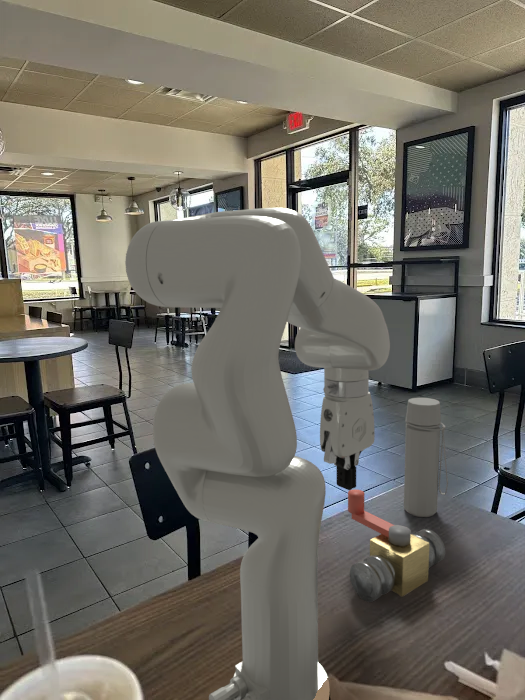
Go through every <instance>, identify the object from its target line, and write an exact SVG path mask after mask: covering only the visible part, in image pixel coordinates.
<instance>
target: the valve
mask: <svg viewBox="0 0 525 700" xmlns="http://www.w3.org/2000/svg"><path fill="white" fill-rule="evenodd" d="M445 549H446V547H445V545H444V542H443V540H442V538H441V537H440V536H439V535H438V534H437V533H436V532H435V531H434V530H432V529H429V528H423V529H421V530H418V531H416V532H415V533H413V534H411V539H410V544H408V545H406V546H398V545H394V544H392V543H391V542H390V541H389V538H388V537H386V536H384V535H382V534H379V535H376V536H375V537H372V538H371V539H369V556H368V557H366V558H364V559H363V560H360V561H358V562H356V563H354V564H352V566H351V567H350V570H349V579H350V584H351V587H352V588H353V589H354V592H355V593H356V595H357V596H358V597H359V598H360V599H362V600H363V601H364V602H367V603H372V602H375V601H377V599H379V598H380V597H382V595H383V596H384V595H386V594H388V593H389V592H391V591H392V592H394V593H395V594H397V595H398V596H400V597H401V598H403V597H404V596H406V595H407V594H409V593H411V592H412V591H414V590H416V589H417V588H418V587H421V586H422V585H424V584H425V583H427V582H428V581H429V570H430V569H429V568H431V567H432V566H434V565H436V564H438V563H440V562H441V561H442V560H443V559H444V558H445V556H446V555H445V554H446V550H445Z"/></svg>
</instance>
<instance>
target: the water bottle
mask: <svg viewBox="0 0 525 700" xmlns="http://www.w3.org/2000/svg"><path fill="white" fill-rule="evenodd" d="M441 414H442V413H441V403H440V401H439V400H437V399H434V398H430V397H412V398H409V399H408V400H407V405H406V415H405V418H404V419H405V420H404V421H405V441H404V443H405V446H404V448H405V449H404V479H403V480H404V482H403V484H404V485H403V486H404V487H403V495H404V496H403V508H404V509H403V510H405V511H406V512H407V513H408V514H410V515H411V516H414V517H419V518H428V517H433V516H434V515H435V514H436V513H437V512H438V501H439V500H438V499H439V498H438V497H439V494H440V495H443V496H446V494H447V493H448V492H447V491H448V485H449V479H448V477H449V476H448V468H447V467H448V466H447V465H448V464H447V456H446V455H447V454H446V442H445V431H446V425H445V424H444V423H443V422H442V417H441ZM440 426H441V427H440ZM441 434H442V435H441ZM440 438H441V439H440ZM440 441H441V443H440ZM440 444H441V447H440ZM443 451H444V453H443ZM443 455H444V465H445V477H446V487H445V488H446V489H445V492H443V491H442V490H441V475H442V474H441V473H442V472H441V471H442V460H443V459H442V456H443ZM438 492H439V493H438Z"/></svg>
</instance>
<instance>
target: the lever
mask: <svg viewBox="0 0 525 700" xmlns="http://www.w3.org/2000/svg"><path fill="white" fill-rule="evenodd" d="M347 511H348V513H350V514H351V519H352V520H354V521H355V522H357V523H359V524H361V525H363V526H365V527H367V528H369V529H371V530H372V531H375V532H376V533H379V535H381V534H382V535H384V536H386V537H388V538H389V541H390V542H391V543H392V544H394V545H398V546H406V545H408V544H410V539H411V533H412V532H411V529H410V528H409V527H407V526H405V525H401V524H400V525H399V524H392V522H389V521H387V520H384V519H382V518H381V517H378V516H376V515H374V514H372V513H370V512H368V511H366V510H365V491H363V490H361V489H356V488H353V489H351V490H347Z"/></svg>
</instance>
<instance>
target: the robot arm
mask: <svg viewBox="0 0 525 700" xmlns="http://www.w3.org/2000/svg"><path fill="white" fill-rule="evenodd" d="M124 262H125V272H126V276H127V280H128V282H129V285H130V286H131V288H132V289H133V291H134V292H135V293H136V295H138V297H140V299H142V300H143V301H145V302H146V303H147V304H151V305H153V306H156V307H160V308H161V307H162V308H188V309H189V308H195V309H196V308H197V309H198V308H199V309H200V308H201V309H202V308H203V309H204V308H205V309H207V308H208V309H219V312H218V314H217V315H216V317H215V320H214V322H213V323H212V325H211V327H210V328H209V329H208V331H207V332H206V334H205V335H204V336H203V337H202V340H201V341H200V343H199V344H198V346H197V348H196V350H195V353H194V355H193V357H192V362H191V378H192V382H186V383H185V382H184V383H181V384H178V385H176V386H174V387H172V388H171V389H168V391H166V393H164V394H163V396H162V397H161V398H160V400H159V402H158V404H157V406H156V408H155V411H154V415H153V421H152V423H153V424H152V437H153V444H154V449H155V452H156V454H157V457H158V459H159V462H160V463H161V466H162V467H163V469H164V472H166V474H167V476H168V479H169V480H170V482H171V484H172V486H173V487H174V489H175V491H176V493H177V495H178V497H179V498H180V500H181V502H182V503H183V506H184V507H185V508H186V510H187V511H188V512H189V513H190V514H191V515H192V516H194V517H195V518H196V519H198V520H201V521H204V522H208V523H212V524H215V525H220V526H225V527H229V528H233V529H234V528H235V529H239V530H241V531H244V532H249V533H253V534H254V535H256V536H257V537H258V538H257V539H255V541H254V542H253V543H252V544H250V545H249V547H248V548H247V550H246V551H245V553H244V554H243V556H242V560H241V563H240V568H239V569H240V570H239V578H240V579H239V580H240V581H239V583H240V606H241V607H240V608H241V609H240V610H241V611H240V612H241V637H242V638H241V642H242V643H241V645H242V647H241V648H242V650H241V651H242V661H241V662H239V663H237V664H235V672H234V674H233V677H231V679H230V680H229V683H228V684H227V685H225V686H222V687H220V688H217V690H215V691H213V692H211V693H209V696H208V700H313V699H314V698H315V696H316V693H317V691H318V690H319V689H320V688H321V687H322V685H323V683H324V682H325V681H326V680H327V678H329V676H328V673H327V672H326V670H325V668H324V667H323V665H321V663H319V639H318V638H319V635H318V634H319V633H318V632H319V631H318V630H319V624H318V623H319V619H318V618H319V607H318V606H319V605H318V603H319V602H318V601H319V597H318V595H319V594H318V590H319V589H318V588H319V587H318V586H319V585H318V584H319V581H318V580H319V578H318V577H319V576H318V575H319V574H318V573H319V572H318V571H319V570H318V567H319V566H318V565H319V564H318V563H319V545H320V543H319V542H320V534H321V533H320V532H321V526H322V519H323V515H324V508H325V501H326V480H325V478H324V477H325V476H324V475H323V473H322V471H321V469H320V468H319V467H318V466H317V465H316V464H315V463H312V462H311V461H310V460H307V458H306V459H305V458H303V457H300V456H297V455H296V453H297V448H298V440H297V438H298V437H297V436H298V435H297V429H296V425H295V421H294V417H293V413H292V409H291V405H290V402H289V398H288V394H287V390H286V387H285V383H284V380H283V375H282V372H281V371H282V370H281V367H280V366H281V365H280V361H279V354H280V353H279V352H280V347H281V343H282V339H283V335H284V331H285V328H286V325H287V323H289V324H290V325H292V326H294V327H297V328H299V330H298V331H297V334H296V336H295V339H294V351H295V354H296V356H297V358H298V360H300V362H301V363H303V364H304V365H306V366H308V367H312V368H321V369H323V371H324V372H323V375H324V377H323V385H324V387H323V389H322V390H323V393H324V397H323V399H322V404H321V412H320V423H319V425H320V426H319V442H320V443H319V444H320V445H319V446H320V449H321V451H322V452H323V453H324V454H323V456H324V457H323V462H324V463H327V464H329V465H330V464H332V465H334V466H335V467H336V486H338V487H340V488H342V489H345V490H347V491H350V490H353V489H356V487H357V466H358V465H359V463H360V456H361V454H362V452H364V450H365V449H368V448H370V447H371V446H373V444H374V443H375V434H376V433H375V432H376V431H375V416H374V414H375V413H374V406H373V399H372V394H371V392H370V391H369V379H370V378H369V371H377V370H380V368H381V367H383V366H384V365H385V364H386V363H387V360H388V359H389V355H390V349H391V341H390V334H389V333H390V332H389V329H388V325H387V323H386V320H385V317H384V314H383V310H381V308H380V306H379V305H378V304H377V303H376V301H374V300H373V299H371V298H370V297H369V296H367V295H366V294H364V293H362V292H361V291H359V290H357V289H355V288H354V287H353V286H350V285H348V284H346V283H345V282H344V281H343V282H342V281H341V280H339V279H336V278H334V276H333V273H332V270H331V268H330V266H329V264H328V261H327V259H326V257H325V255H324V253H323V250H322V247H321V246H320V244H319V241H318V239H317V237H316V234H315V232H314V230H313V227H312V226H311V224H310V223H309V221H308V220H307V219H306V217H304V215H302V214H301V213H300V212H298V211H296V210H293V209H290V208H285V207H263V208H261V207H260V208H250V209H248V208H247V209H238V210H223V211H216V212H209V213H203V214H198V215H193V216H187V217H180V218H175V219H174V218H173V219H166V220H159V221H157V220H156V221H153V222H149V223H147V224H145V225H144V226H142V227H141V228H139V230H137V231H136V233H135V234H134V235H133V236H132V238H131V240H130V242H129V244H128V246H127V250H126V253H125V261H124Z"/></svg>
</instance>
